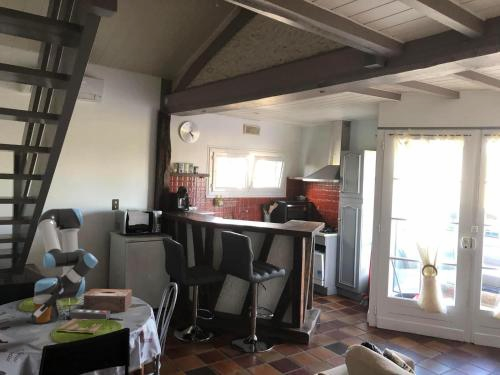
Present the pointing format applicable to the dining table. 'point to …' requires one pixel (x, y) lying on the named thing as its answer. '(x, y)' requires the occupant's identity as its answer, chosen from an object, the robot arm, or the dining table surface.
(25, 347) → the dining table surface
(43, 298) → the disposable coffee cup
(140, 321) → the dining table surface
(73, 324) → the walnut board
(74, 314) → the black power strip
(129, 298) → the tissue box cover
